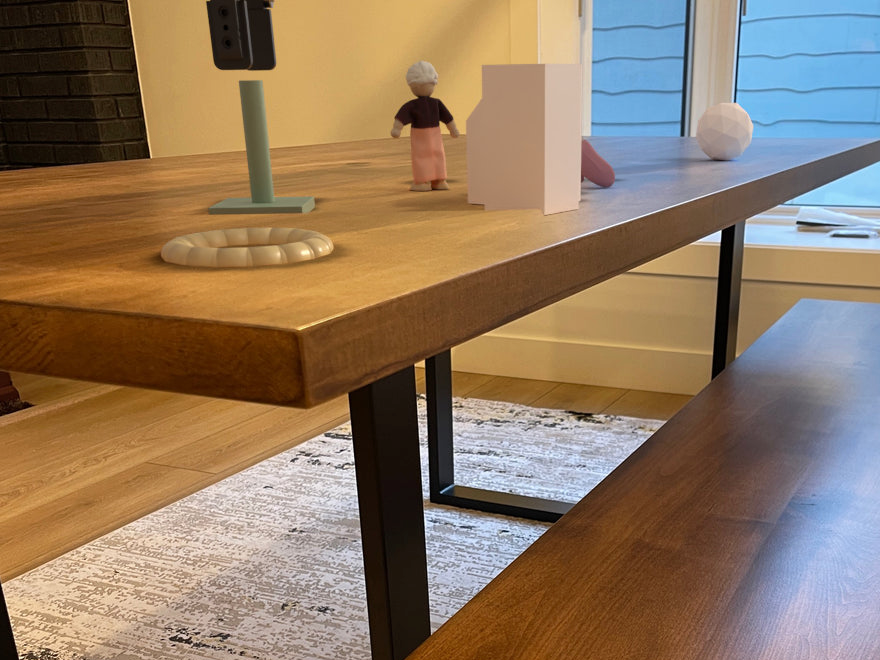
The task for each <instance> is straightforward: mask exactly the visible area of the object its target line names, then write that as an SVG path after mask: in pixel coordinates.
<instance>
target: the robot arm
mask: <svg viewBox="0 0 880 660" xmlns="http://www.w3.org/2000/svg"><path fill="white" fill-rule="evenodd" d="M274 3H275V0H206V1H205V5H206V12H207V13H206V14H207V20H208V28H209V29H208V30H209V36H210V44H211V51H212V61H213V64H214V66H215V67H216V69H218V70H220V71H252V72H253V71H254V72H255V71H257V72H258V71H272V70H274V69H275V68H276V66H277V55H276V54H277V53H276V46H275V36H274V27H273V25H274V24H273V16H272V15H273V14H272V9H274Z"/></svg>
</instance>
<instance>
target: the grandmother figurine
mask: <svg viewBox="0 0 880 660" xmlns="http://www.w3.org/2000/svg"><path fill="white" fill-rule="evenodd" d="M438 78H439V74H438V73H437V71H436V69H435V67H434V66H433V64H432V63H430V62H429V61H425V60H419V61H416V62H414V63H413V64H412V65H410V66H409V67H408V68H407V72H406V74H405V80H406V84H407V86H408V87H409V88H410V91H411V93H412V94H413V95H414V96H415V97H416V98H413V99H410V100H408V101H406V102H405V103H404V104H402V105H401V107H400V108H399V109H398V110H397V112H396V114H395V115H394V122H393V125H392V126H393V127H392V129H391V130H390V136H391V138H393V139H399V138H400V137H401V134H402V130H404V127H405V126H408V125H410V129H409V130H410V131H409V137H410V139H409V140H410V155H411V156H410V158H411V169H412V178H413V182H412V183H411V184H410V186H409V190H410V191H415V192H429V191H432V190H449V189H450V185H449V184H448V183H447V181H446V179H448V175H447V174H448V173H447V163H446V162H447V161H446V154H445V153H446V152H445V148H444V142H443V136H442V131H441V130H442V129H441V126H440V122H441V124H444V125H445V128H446V129H447V130H448V131H449V136H450V137H451V138H452V139H457V138H459V137H460V131H459V128H457V124H456V121H455V120H454V116H453V114H451V113H452V112H450V110H449V109H448V108H447V106H446V105H445V104H444V103H443V101H442V100H441V99H440V98H437V97H432V94H433V93H434V91H435V88H436V87H435V86H437V85H438V84H439V82H438ZM428 182H430V185H429V183H428Z"/></svg>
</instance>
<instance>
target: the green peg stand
mask: <svg viewBox="0 0 880 660" xmlns="http://www.w3.org/2000/svg"><path fill="white" fill-rule="evenodd" d="M238 88H239V97H240V105H241V116H242V124H243V130H244V131H243V134H244V142H245V143H244V144H245V151H246V162H247V170H248V171H247V172H248V179H249V188H250V196H251V197H249V196H248V197H247V196H246V197H245V196H244V197H227V198H225V199H223V200H221V201H219V202H217V203H215V204H213V205H211V206H210V207H208V208H207V210H208V215H209V216H216V215H217V216H220V215H221V216H222V215H224V216H225V215H228V216H230V215H274V214H275V215H280V214H281V215H283V214H285V215H286V214H291V215H292V214H309V213H311V212H312V211H313V210H314V209H315V208H316V203H315V202H316V201H315V196H314V195H313V196H312V195H311V196H309V195H308V196H275V189H274V181H273V180H274V179H273V171H272V160H271V151H270V140H269V131H268V121H267V112H266V111H267V110H266V101H265V91H264V81H263V79H259V80H258V79H257V80H255V79H254V80H253V79H252V80H250V79H249V80H248V79H244V80H241V79H240V80H238Z"/></svg>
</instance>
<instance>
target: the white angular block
mask: <svg viewBox="0 0 880 660" xmlns="http://www.w3.org/2000/svg"><path fill="white" fill-rule="evenodd" d="M583 68H584V65H583V64H581V63H511V64H509V63H507V64H506V63H505V64H504V63H503V64H481V99H480V100H479V101H478V103H477V104H476V106H475V107H474V108H473V110H472V112H471V113H470V115H468V117H467V118H466V120H465V139H466V145H465V146H466V179H467V181H466V182H467V204H471V205H472V204H473V205H482V206H484V210H483V211H516V210H517V211H518V210H519V211H520V210H521V211H525V210H526V211H527V210H529V211H531V210H540V211H541V214H542V215H543V216H549V215H553V214H559V213H564V212H569V211H570V212H571V211H576V210H579V208H580V207H579V206H580V202H581V190H582V188H581V185H582V183H581V137H583V135H582V132H583V131H582V130H583V127H582V126H583V80H584V79H583V75H584V73H583V72H584V69H583Z"/></svg>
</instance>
